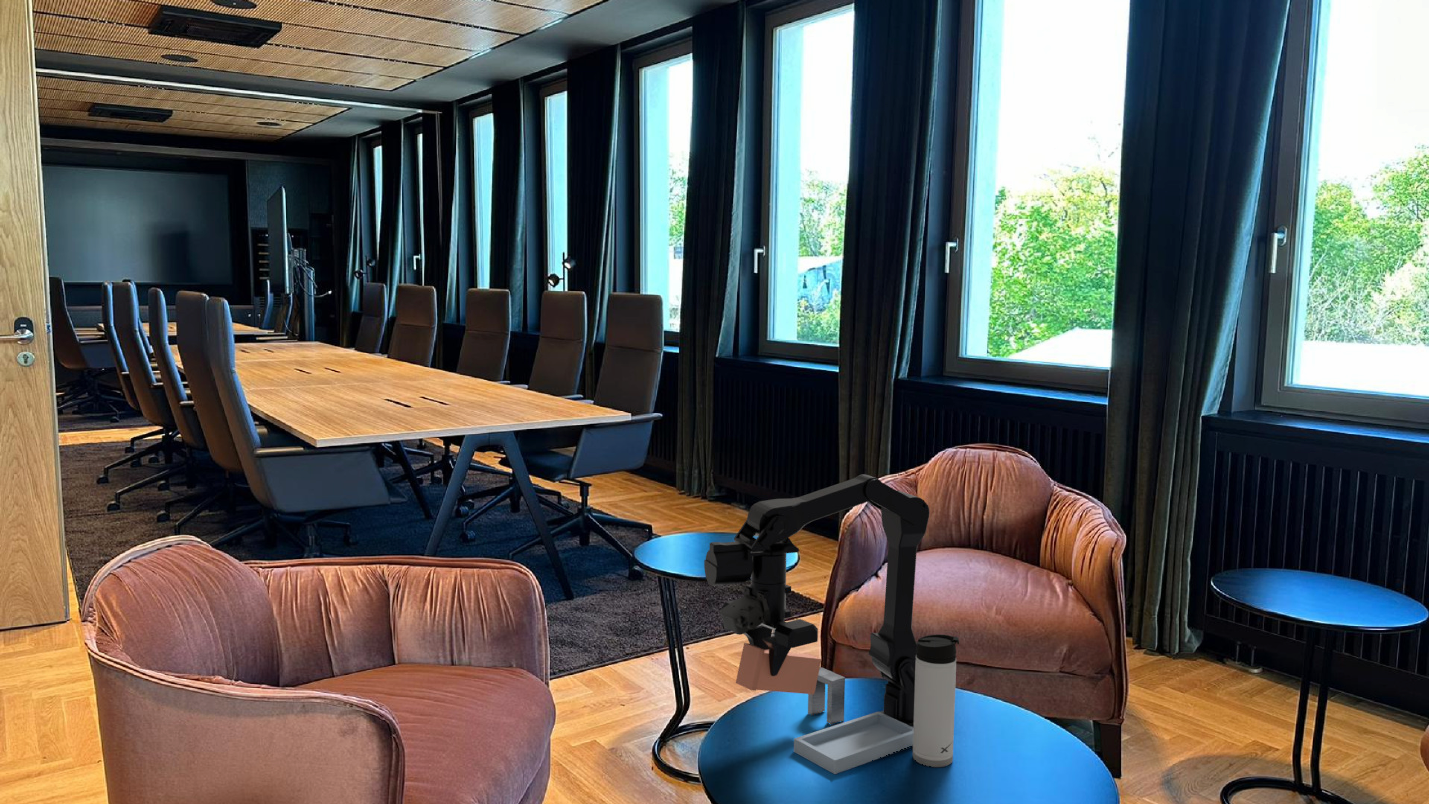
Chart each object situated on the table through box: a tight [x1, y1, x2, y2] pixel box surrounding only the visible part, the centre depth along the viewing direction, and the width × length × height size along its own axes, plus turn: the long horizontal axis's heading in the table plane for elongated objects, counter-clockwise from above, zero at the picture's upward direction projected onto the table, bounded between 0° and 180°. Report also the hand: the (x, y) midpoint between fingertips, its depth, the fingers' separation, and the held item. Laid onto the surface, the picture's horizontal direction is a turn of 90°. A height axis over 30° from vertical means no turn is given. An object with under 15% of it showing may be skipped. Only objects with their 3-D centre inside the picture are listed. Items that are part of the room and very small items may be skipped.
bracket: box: [807, 666, 846, 726], centre depth 178 cm, size 3×6×8 cm, turn 36°
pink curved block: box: [735, 642, 822, 695], centre depth 170 cm, size 14×4×7 cm, turn 125°
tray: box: [793, 711, 914, 775], centre depth 166 cm, size 19×10×2 cm, turn 126°
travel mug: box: [912, 633, 960, 768], centre depth 161 cm, size 6×7×20 cm
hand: (767, 672), depth 168 cm, fingers closed on pink curved block, 3 cm apart
